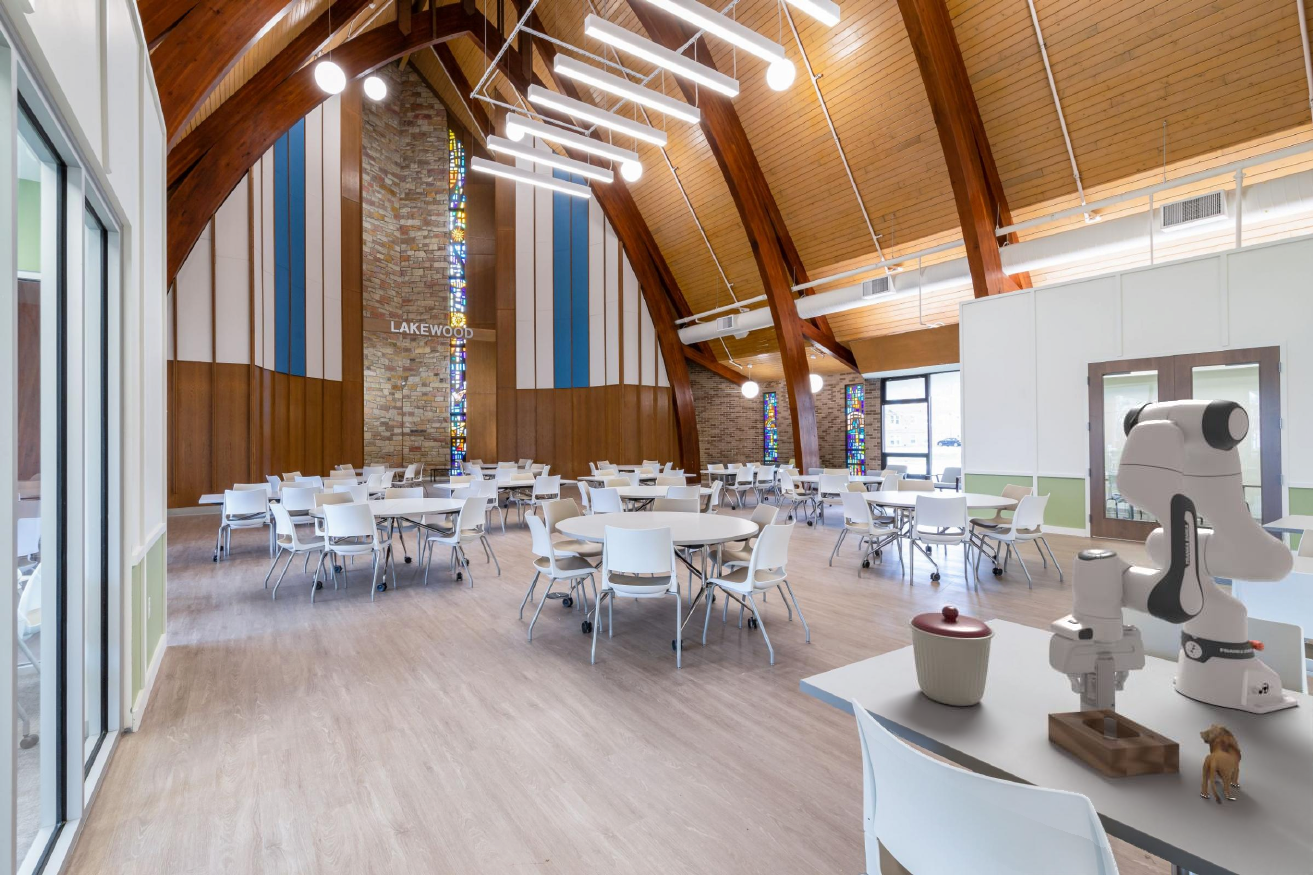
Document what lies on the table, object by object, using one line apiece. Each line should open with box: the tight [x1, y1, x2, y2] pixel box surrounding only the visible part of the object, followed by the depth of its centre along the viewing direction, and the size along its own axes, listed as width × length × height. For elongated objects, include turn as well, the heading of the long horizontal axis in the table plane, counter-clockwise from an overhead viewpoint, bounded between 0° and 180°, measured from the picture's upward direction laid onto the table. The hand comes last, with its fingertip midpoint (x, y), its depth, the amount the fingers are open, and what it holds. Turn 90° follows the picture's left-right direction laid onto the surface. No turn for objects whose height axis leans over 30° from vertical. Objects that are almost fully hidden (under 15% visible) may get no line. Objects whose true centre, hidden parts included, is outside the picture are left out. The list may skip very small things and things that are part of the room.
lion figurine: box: [1199, 724, 1242, 805], centre depth 103 cm, size 15×5×9 cm, turn 138°
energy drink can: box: [1079, 652, 1116, 712], centre depth 128 cm, size 6×6×15 cm
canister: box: [907, 605, 996, 707], centre depth 140 cm, size 18×18×21 cm
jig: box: [1047, 710, 1180, 778], centre depth 114 cm, size 14×14×5 cm
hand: (1097, 691), depth 128 cm, fingers open, 8 cm apart
